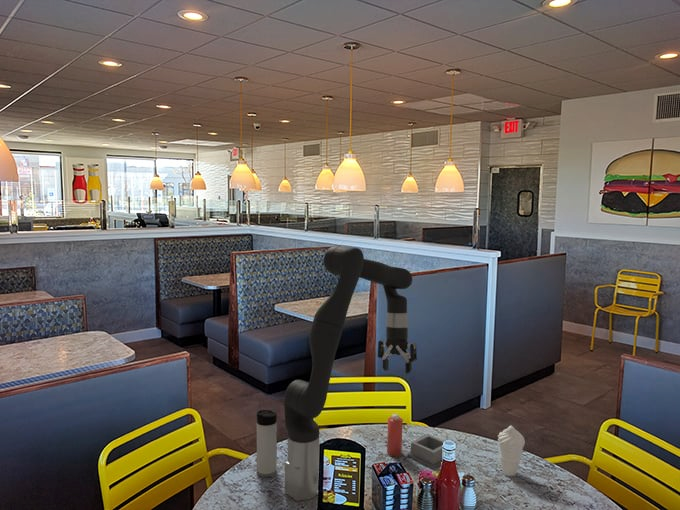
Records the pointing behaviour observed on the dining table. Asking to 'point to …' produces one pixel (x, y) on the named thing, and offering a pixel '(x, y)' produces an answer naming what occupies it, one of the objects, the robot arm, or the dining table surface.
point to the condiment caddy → (427, 451)
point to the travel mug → (266, 443)
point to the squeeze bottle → (394, 435)
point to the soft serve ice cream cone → (510, 450)
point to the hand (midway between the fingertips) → (396, 371)
